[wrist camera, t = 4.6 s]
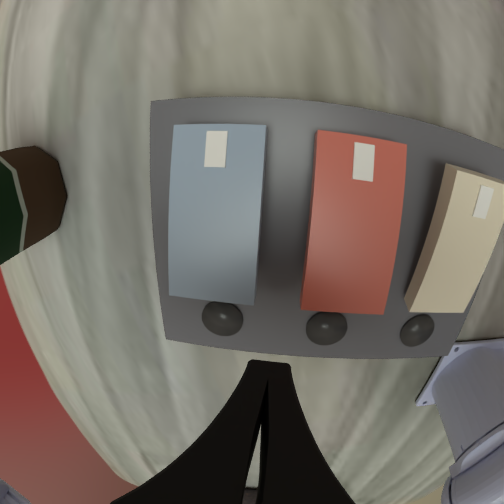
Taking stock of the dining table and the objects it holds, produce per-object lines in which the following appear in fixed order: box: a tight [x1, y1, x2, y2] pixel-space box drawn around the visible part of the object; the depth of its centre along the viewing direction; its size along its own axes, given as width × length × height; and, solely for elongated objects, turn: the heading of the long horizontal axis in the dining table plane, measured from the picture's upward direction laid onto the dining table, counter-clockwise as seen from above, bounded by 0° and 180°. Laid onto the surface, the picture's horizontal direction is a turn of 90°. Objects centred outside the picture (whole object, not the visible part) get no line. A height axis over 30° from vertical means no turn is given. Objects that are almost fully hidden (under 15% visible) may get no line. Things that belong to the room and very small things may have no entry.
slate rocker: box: [168, 124, 268, 306], centre depth 11 cm, size 4×7×1 cm, turn 178°
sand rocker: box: [404, 163, 504, 313], centre depth 10 cm, size 4×7×1 cm, turn 178°
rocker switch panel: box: [150, 97, 504, 359], centre depth 14 cm, size 18×13×4 cm
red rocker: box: [300, 130, 407, 315], centre depth 11 cm, size 4×7×1 cm, turn 178°
